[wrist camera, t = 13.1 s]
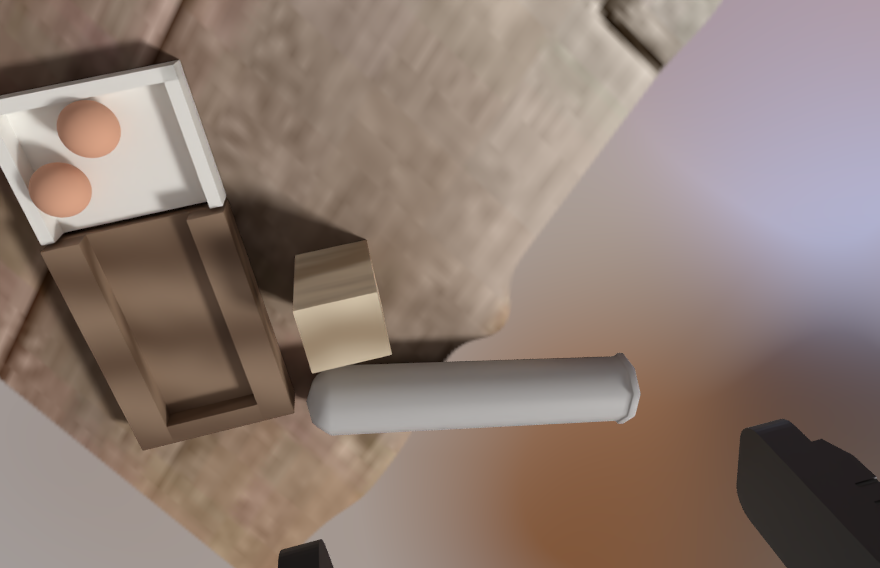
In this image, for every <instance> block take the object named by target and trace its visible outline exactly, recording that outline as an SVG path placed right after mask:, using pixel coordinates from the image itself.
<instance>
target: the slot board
mask: <svg viewBox="0 0 880 568" xmlns="http://www.w3.org/2000/svg"><path fill="white" fill-rule="evenodd" d="M40 253H41V255H42V257H43V259H44V261H45V263H46V265H47V267H48V269H49V271H50V273H51V275H52V277H53V278H54V280H55V282H56V284H57V286H58V288H59V290H60V292H61V294H62V296H63V298H64V300H65V302H66V304H67V305H68V307H69V309H70V311H71V313H72V315H73V317H74V319H75V321H76V323H77V325H78V327H79V329H80V331H81V333H82V334H83V336H84V338H85V340H86V342H87V344H88V346H89V348H90V350H91V352H92V354H93V356H94V358H95V360H96V361H97V363H98V365H99V367H100V369H101V371H102V373H103V375H104V377H105V379H106V381H107V383H108V385H109V387H110V388H111V390H112V392H113V394H114V396H115V398H116V400H117V402H118V404H119V406H120V408H121V410H122V412H123V414H124V416H125V417H126V419H127V421H128V423H129V425H130V427H131V429H132V431H133V433H134V435H135V437H136V439H137V441H138V443H139V444H140V446H141V448H142V450H147V449H151V448H156V447H160V446H164V445H168V444H172V443H176V442H180V441H184V440H188V439H192V438H196V437H200V436H204V435H208V434H212V433H216V432H220V431H224V430H228V429H232V428H236V427H240V426H244V425H248V424H252V423H256V422H260V421H264V420H268V419H272V418H276V417H280V416H285V415H289V414H293V413H294V404H295V392H294V389H293V386H292V383H291V380H290V377H289V374H288V371H287V369H286V366H285V363H284V360H283V357H282V354H281V351H280V348H279V345H278V343H277V340H276V337H275V334H274V331H273V328H272V325H271V322H270V320H269V317H268V314H267V311H266V308H265V305H264V302H263V299H262V296H261V294H260V291H259V288H258V285H257V282H256V279H255V276H254V273H253V270H252V268H251V265H250V262H249V259H248V256H247V253H246V250H245V247H244V244H243V242H242V239H241V236H240V233H239V230H238V227H237V224H236V221H235V218H234V216H233V213H232V210H231V207H230V204H229V201H228V199H225V201H224V204H223V206H220V207H215V208H211V209H210V208H209V205H208V203H207V204H202V205H198V206H193V207H189V208H184V209H180V210H175V211H170V212H166V213H161V214H157V215H152V216H148V217H143V218H138V219H134V220H129V221H125V222H120V223H116V224H111V225H106V226H102V227H97V228H93V229H88V230H84V231H79V232H74V233H70V234H65V235H61V236H60V237H59V239H58V240H57V241H56V242H55V243H51V244H48V245H47V246H46V247H45V248H44V249H43V250H42V251H41V252H40Z"/></svg>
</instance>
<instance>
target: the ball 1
mask: <svg viewBox="0 0 880 568" xmlns="http://www.w3.org/2000/svg"><path fill="white" fill-rule="evenodd" d="M57 132H58V136H59V138H60V140H61V142H62V143H63V144H64V146H65V147H66V148H68V149H69V150H70V151H71V152H73V153H75V154H77V155H79V156H82V157H86V158H99V157H102V156H105V155H107V154H109V153H110V152H112V151H113V150H114V149H115V148H116V146H117V145H118V143H119V141H120V137H121V128H120V124H119V121H118V119H117V117H116V116H115V114H114V113H113V112H112V111H111V110H110V109H109V108H107V107H106V106H105V105H103V104H101V103H98V102H96V101H91V100H79V101H75V102H72V103H70V104H69V105H67V106H66V107H65V108H64V109H63V110H62V111H61V112H60V114H59V116H58V119H57Z"/></svg>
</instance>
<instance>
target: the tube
mask: <svg viewBox="0 0 880 568" xmlns="http://www.w3.org/2000/svg"><path fill="white" fill-rule="evenodd" d="M639 398H640V390H639V386H638V381H637V377H636V373H635V368H634V367H633V366H632V365H631V363H630V362H629V361H628V359H627V358H626V357H625V355H624V354H623V353H617V354H616V355H615V356H612V357H584V358H553V359H523V360H492V361H460V362H429V363H398V364H368V365H346V366H342V367H338V368H334V369H329V370H325V371H322V372H321V373H319V374H318V375H317V376H316V377H315V378H314V380H313V381H312V384H311V388H310V391H309V394H308V398H307V401H306V402H307V406H308V409H309V413H310V416H311V420H312V423H313V424H314V425H316V426H317V427H318V428H320V429H321V430H323V431H325V432H326V433H328V434H329V435H349V434H368V433H387V432H406V431H424V430H443V429H463V428H482V427H502V426H520V425H538V424H539V425H540V424H558V423H576V422H577V423H578V422H597V421H616V422H617V423H624V422H626V421H628V420H629V419H631V418H632V417H634V416H635V413H636V409H637V405H638V402H639Z"/></svg>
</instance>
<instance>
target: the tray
mask: <svg viewBox="0 0 880 568" xmlns="http://www.w3.org/2000/svg"><path fill="white" fill-rule="evenodd" d="M79 100H91V101H96V102H98V103H101V104H103V105H105V106H106V107H107V108H109V109H110V110H111V111H112V112H113V113H114V114H115V116H116V117H117V119H118V121H119V124H120V128H121V137H120V141H119V143H118V145H117V146H116V148H115V149H114V150H113V151H112V152H110V153H109V154H107V155H105V156H102V157H99V158H86V157H82V156H79V155H77V154H75V153H73V152H71V151H70V150H69V149H68V148H66V147H65V146H64V144H63V143H62V142H61V140H60V138H59V136H58V132H57V119H58V116H59V114H60V112H61V111H62V110H63V109H64V108H65V107H66V106H67V105H69V104H70V103H72V102H75V101H79ZM55 162H61V163H67V164H70V165H73V166H75V167H77V168H78V169H80V170H81V171H82V172H83V173H84V174H85V175H86V176H87V178H88V179H89V181H90V184H91V187H92V197H91V200H90V202H89V204H88V206H87V207H86V208H85V209H84V210H83V211H82V212H80V213H79V214H77V215H74V216H71V217H64V218H60V217H54V216H50V215H48V214H46V213H44V212H42V211H41V210H40V209H38V208H37V207H36V206H35V204H34V203H33V202H32V200H31V198H30V195H29V189H28V188H29V181H30V178H31V176H32V175H33V173H34V172H35V171H36V170H37V169H38V168H40V167H41V166H43V165H46V164H49V163H55ZM0 166H1V168H2V170H3V172H4V174H5V176H6V178H7V180H8V182H9V184H10V186H11V188H12V190H13V192H14V194H15V196H16V197H17V199H18V201H19V203H20V205H21V207H22V209H23V211H24V213H25V215H26V217H27V219H28V221H29V223H30V225H31V227H32V229H33V231H34V232H35V234H36V236H37V238H38V240H39V242H40V244H41V246H42V245H47V244H51V243H55V242H56V241H57V240H58V239H59V237H60V236H61V235H62V234H63V233H65V232H70V231H74V230H79V229H83V228H88V227H93V226H97V225H102V224H106V223H111V222H115V221H120V220H125V219H129V218H134V217H138V216H143V215H147V214H152V213H157V212H161V211H166V210H170V209H175V208H180V207H184V206H189V205H193V204H198V203H202V202H208V205H209V208H210V209H211V208H215V207H220V206H223V204H224V201H225V198H226V192H225V190H224V187H223V184H222V181H221V178H220V175H219V172H218V169H217V166H216V164H215V161H214V158H213V155H212V152H211V149H210V146H209V143H208V140H207V138H206V135H205V132H204V129H203V126H202V123H201V120H200V117H199V114H198V112H197V109H196V106H195V103H194V100H193V97H192V94H191V91H190V88H189V86H188V83H187V80H186V77H185V74H184V71H183V68H182V65H181V62H180V60H175V61H170V62H165V63H160V64H155V65H150V66H145V67H140V68H135V69H130V70H125V71H120V72H115V73H110V74H105V75H100V76H95V77H90V78H85V79H80V80H75V81H70V82H65V83H60V84H55V85H50V86H45V87H40V88H35V89H30V90H25V91H20V92H15V93H10V94H5V95H0Z"/></svg>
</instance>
